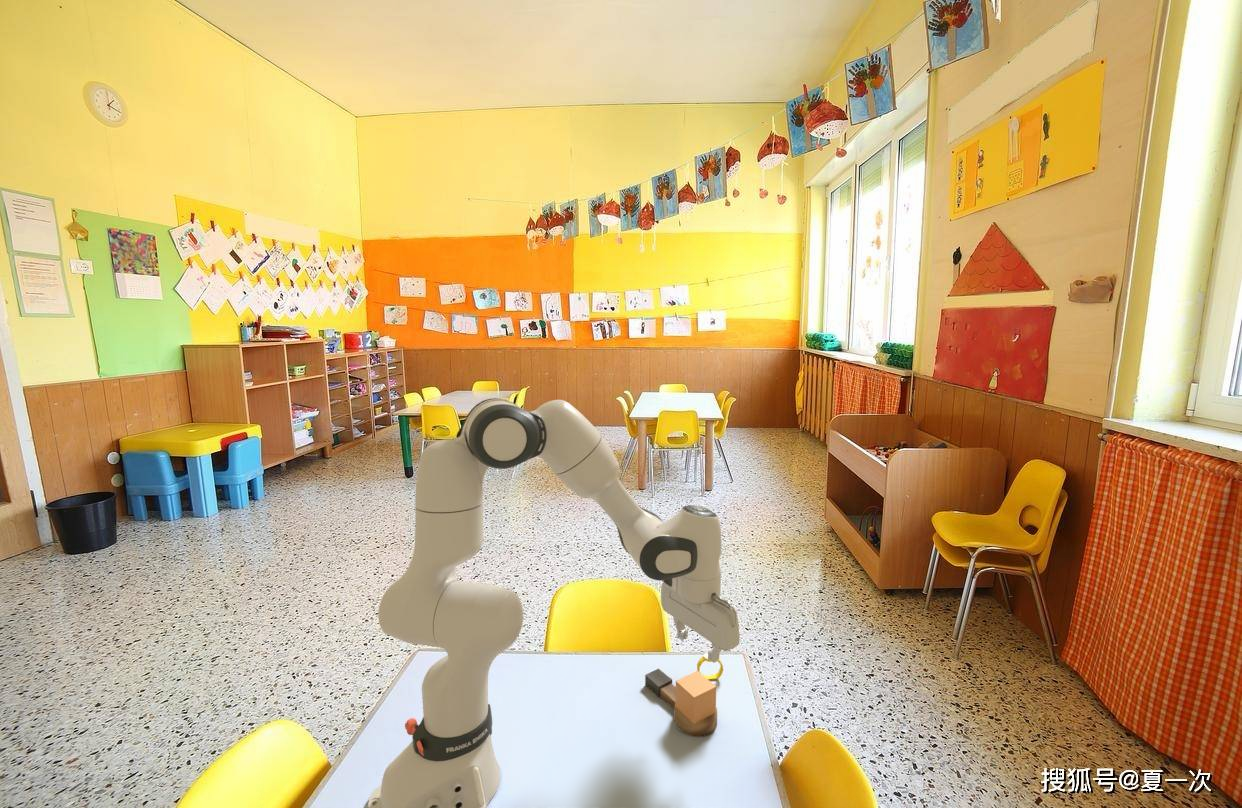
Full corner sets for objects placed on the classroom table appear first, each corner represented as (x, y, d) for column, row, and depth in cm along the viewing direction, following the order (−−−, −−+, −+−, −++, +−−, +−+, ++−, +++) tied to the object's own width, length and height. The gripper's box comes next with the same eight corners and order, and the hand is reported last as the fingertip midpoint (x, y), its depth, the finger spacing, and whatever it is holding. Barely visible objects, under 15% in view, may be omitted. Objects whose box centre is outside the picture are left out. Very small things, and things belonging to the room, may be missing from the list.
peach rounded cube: (715, 712, 109) (716, 686, 108) (693, 724, 106) (694, 697, 105) (696, 695, 114) (697, 670, 113) (675, 706, 111) (675, 680, 110)
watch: (721, 674, 125) (721, 651, 124) (723, 682, 122) (724, 658, 122) (696, 675, 125) (696, 652, 124) (698, 682, 122) (698, 659, 121)
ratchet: (694, 743, 104) (694, 718, 104) (636, 689, 120) (636, 667, 119) (726, 724, 109) (726, 700, 109) (666, 674, 125) (666, 653, 124)
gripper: (748, 601, 99) (746, 669, 101) (678, 563, 116) (677, 622, 117) (724, 610, 95) (722, 681, 97) (655, 570, 112) (655, 631, 114)
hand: (697, 648), depth 107 cm, fingers open, 8 cm apart
